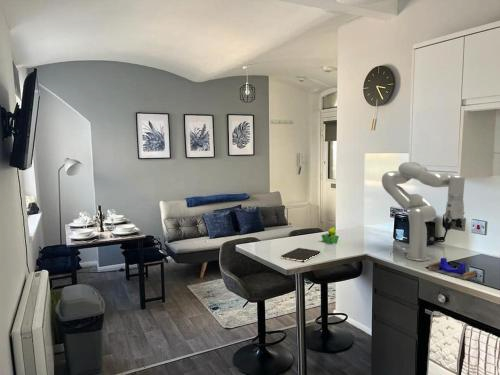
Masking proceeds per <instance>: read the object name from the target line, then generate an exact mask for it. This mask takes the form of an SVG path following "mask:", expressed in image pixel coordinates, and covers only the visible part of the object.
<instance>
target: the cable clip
mask: <svg viewBox="0 0 500 375" xmlns="http://www.w3.org/2000/svg"><path fill="white" fill-rule="evenodd" d="M447 260H448V259H447V257H441V258H440V261H439V262H440V264H439V270H442V271H445V272H449V273H450V272H453V273H456V274H460V275H463V274H464V273H465V272H466V271H467V270H466V267H467V265H466V262H460V263H459V265H458V267H457V268H454V267H452V266H451V265H450V264H449V263H448V261H447Z"/></svg>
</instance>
